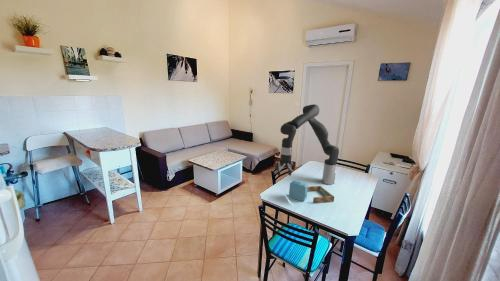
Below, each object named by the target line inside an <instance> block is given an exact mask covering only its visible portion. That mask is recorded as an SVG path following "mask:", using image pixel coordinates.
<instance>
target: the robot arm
mask: <svg viewBox="0 0 500 281" xmlns="http://www.w3.org/2000/svg"><path fill="white" fill-rule="evenodd" d="M319 113H320V107H319V105H318V104H316V103H314V104H309V105H305V106H303V108H302V114H300V115H297V116H296V117H294V118H293V119H292V120H290V121H287V122H285V123H283V124H282V125H281V126H280V133H281V134H282V135H285V136H286V135H287V137H283V138H282V139H281V148H280V155H279V156H280V158H279V159H280V160H279V161H277V160H276V161H275V167H274V169H275V170H276V172H277V176H278V177H280V176H281V171H282V169H284V168H288V176H289V177H290V176H291V175H292V172H293V171H295V168H296V161H294V160H292V154H293V141H294V138H295V136H296V133H297V129H299V128H301V126H303V125H304V124H305V123H307V122H308V124H309V125H310V126H311V128H312V130H313V132H314V135H315V136H316V137H317V139H318V140H317V141H318V142H319V143H320V145H321V148H322V150H323V153H324V154H325V155H326V156H328V158H327V159H324V163H323V170H322V171H323V172H322V178H321V179H322V180H321V182H322V183H323V184H325V185H333V184H335V180H336V172H335V171H336V166H337V162H338V159H339V154H340V148H339V147H338V146H336V145H333V144H331V143H330V142H329V132H328V130H327V128H326V126H325V124H323V123H321V122H320V121H319V120H317V119H316V117H317V116H318V115H319Z"/></svg>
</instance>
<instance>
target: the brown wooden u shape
mask: <svg viewBox="0 0 500 281" xmlns="http://www.w3.org/2000/svg"><path fill="white" fill-rule="evenodd" d="M309 192H310V193H311V192H320V193H321V194H322V195H324V196H317V197H316V196H315V197H313V198H312V199H313V200H312V203H313V204H322V203H334V201H335V196H334V195H333V194H331V193H330V192H329V191H328V190H326V189H325V188H324V187H323V186H321V185H314V186H313V185H312V186H308V189H307V193H309Z"/></svg>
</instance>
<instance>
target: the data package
mask: <svg viewBox="0 0 500 281" xmlns="http://www.w3.org/2000/svg"><path fill="white" fill-rule="evenodd" d="M308 187H309V186H308V184H306V183H304V182H301V181H298V180H292V181H291V182H289V190H288V191H289V192H288V196H289V198H292V199H294V200H297V201H301V202H304V201H306V199H307V196H308V192H307V189H308Z"/></svg>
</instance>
